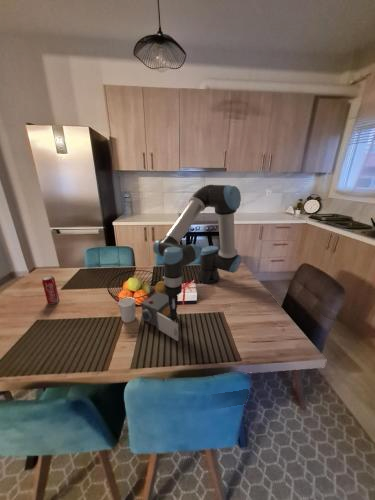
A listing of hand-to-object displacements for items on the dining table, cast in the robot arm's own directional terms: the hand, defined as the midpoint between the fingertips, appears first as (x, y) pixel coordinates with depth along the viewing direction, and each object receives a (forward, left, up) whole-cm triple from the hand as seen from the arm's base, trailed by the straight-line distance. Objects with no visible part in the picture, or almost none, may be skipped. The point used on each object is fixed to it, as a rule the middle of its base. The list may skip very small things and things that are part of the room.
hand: (172, 327), depth 96 cm
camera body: (-3, -12, -2) cm, 13 cm away
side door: (+3, -1, -2) cm, 4 cm away
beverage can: (+18, -71, -2) cm, 73 cm away
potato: (-20, -22, -2) cm, 30 cm away
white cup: (+5, -24, -2) cm, 25 cm away
